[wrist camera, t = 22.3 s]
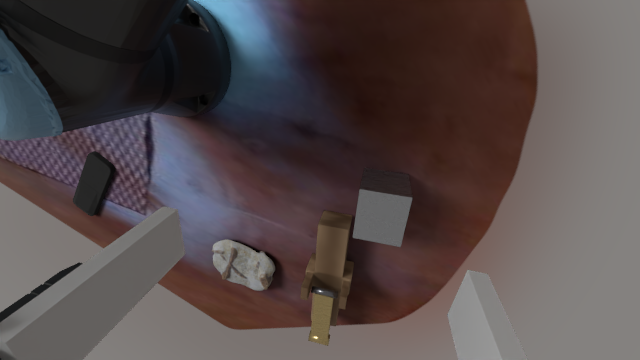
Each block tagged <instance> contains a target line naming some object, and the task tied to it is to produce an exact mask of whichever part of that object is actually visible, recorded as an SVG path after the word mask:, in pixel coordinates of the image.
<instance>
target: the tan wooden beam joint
mask: <svg viewBox="0 0 640 360" xmlns="http://www.w3.org/2000/svg"><path fill="white" fill-rule="evenodd" d="M351 221H352V215H348V214H342V213H337V212H331V211H326V210H324V212H323V214H322V217H321V219H320V221H319V224H318V234H317V247H316V254H313V253H312V256H311V258H310V261H309V263H308V266H307V268H306V276H305V279H304V281H303V284H302V287H301V299H304V300H307V299H308V296H309V293H310V290H311V287H312V286H317V287H321V288H325V289H329V290H334V291H338V298H337V299H336V298H334V299H333V307H332V314H331V322H330V325H333V326H336V322H337V317H338V312H339V308H340V309H345V307H346V301H347V296H348V295H349V292H350V286H351V280H352V274H353V268H354V262H351V261H346V257H347V250H348V243H349V235H350V228H351ZM314 298H315V293H313V299H312V312H311V320H312V317H313V307H314Z"/></svg>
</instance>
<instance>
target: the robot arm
mask: <svg viewBox="0 0 640 360" xmlns="http://www.w3.org/2000/svg"><path fill="white" fill-rule="evenodd" d="M230 74H231V63H230V55H229V50H228V47H227V43H226V40H225V38H224V36H223V33H222V31H221V30H220V28H219V26H218V24H217V23H216V21H215V20H214V19H213V17H212V16H211V15H210V14H209V13H208V12H207V11H206V10H205V9H204V8H203V7H202V6H201V5H200V4H198V3H197V2H195V1H194V0H0V139H3V140H24V139H32V138H39V137H47V136H57V135H61V134H62V132H67V131H71V130H75V129H79V128H84V127H88V126H92V125H97V124H101V123H105V122H110V121H114V120H118V119H123V118H127V117H131V116H136V115H140V114H144V113H148V112H154V113H160V114H166V115H172V116H178V117H190V116H195V115H198V114H202V113H205V112H208V111H210V110H211V109H213V108H214V107H215V106H217V105H218V104H219V102H220V101H221V100H222V99H223V97H224V95H225V93H226V91H227V88H228V85H229V81H230ZM184 255H185V249H184V243H183V237H182V232H181V226H180V221H179V215H178V209H173V208H168V207H162V208H160V209H159V210H158V211H156V212H155V213H153V214H152V215H151V216H149V217H148V218H146V219H145V220H144V221H142V222H141V223H139V224H138V225H137V226H135V227H134V228H132V229H131V230H129V231H128V232H127V233H125V234H124V235H122V236H121V237H120V238H118V239H117V240H115V241H114V242H113V243H111V244H110V245H108V246H107V247H106V248H104V249H103V250H102V251H100V252H99V253H97V254H96V255H94V256H93V257H92V258H90V259H89V260H87V261H86V262H84V263H77V264H75V265H73V266H71V267H69V268H67V269H64V270H62V271H60V272H59V273H57V274H56V275H54V276H53V277H52V278H50V279H49V280H47V281H46V282H45V283H44V284H43V285H40V286H39V287H37V288H35V289H34V290H33V291H31V293H30V294H27V295H25V296H24V297H22V298H21V299H20V300H18V301H17V302H15V303H14V304H12V305H11V306H9V307H8V308H6V309H5V310H4V311H2V312H1V313H0V360H83V359H84V357H86V355H88V353H90V351H91V350H92V349H93V348H94V347H95V346H96V345H97V344H98V343H99V342H100V341H101V340H102V339H103V338H104V337H105V336H106V335H107V334H108V333H109V332H110V331H111V330H112V329H113V328H114V327H115V326H116V325H117V324H118V323H119V322H120V321H121V320H122V319H123V317H124V316H125V315H126V314H127V313H128V312H129V311H130V310H131V309H132V308H133V307H134V306H135V305H136V304H137V303H138V302H139V301H140V300H141V299H142V298H143V297H144V296H145V295H146V294H147V293H148V292H149V291H150V290H151V289H152V288H153V287H154V286H155V284H157V282H158V281H159V280H160V279H161V278H162V277H163V276H164V275H165V274H166V273H167V272H168V271H169V270H170V269H171V268H172V267H173V266H174V265H175V264H176V263H177V262H178V261H179V260H180V259H181V258H182V257H183V256H184ZM447 315H448V320H449V324H450V328H451V332H452V336H453V341H454V345H455V349H456V353H457V357H458V360H528V359H527V357H526V354H525V352H524V350H523V348H522V346H521V344H520V342H519V340H518V338H517V335H516V333H515V331H514V329H513V327H512V325H511V323H510V320H509V318H508V316H507V314H506V312H505V310H504V307H503V305H502V303H501V301H500V299H499V297H498V295H497V293H496V291H495V288H494V286H493V284H492V282H491V280H490V278H489V275H488V274H486V273H480V272H476V271H471V270H467V272H466V275H465V277H464V279H463V281H462V283H461V286H460V288H459V290H458V292H457V294H456V297H455V299H454V301H453V303H452V306H451V308H450V310H449V312H448V314H447Z"/></svg>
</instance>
